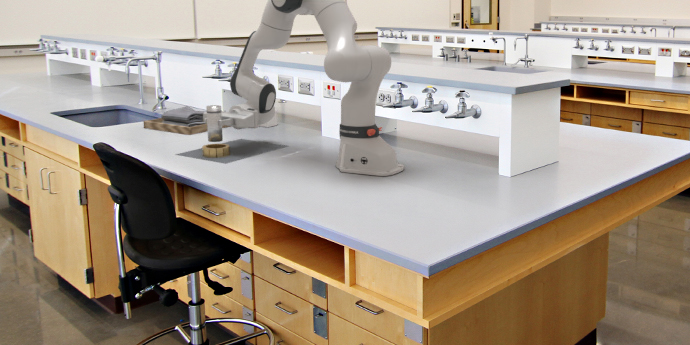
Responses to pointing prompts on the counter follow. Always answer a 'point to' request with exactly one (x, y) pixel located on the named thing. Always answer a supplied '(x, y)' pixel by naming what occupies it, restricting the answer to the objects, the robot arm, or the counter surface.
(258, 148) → the bench mat
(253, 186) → the counter surface
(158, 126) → the towel frame
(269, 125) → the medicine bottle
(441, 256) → the counter surface
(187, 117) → the towel
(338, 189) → the counter surface
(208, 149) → the brass ring collar
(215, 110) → the clear lidded jar
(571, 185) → the counter surface
